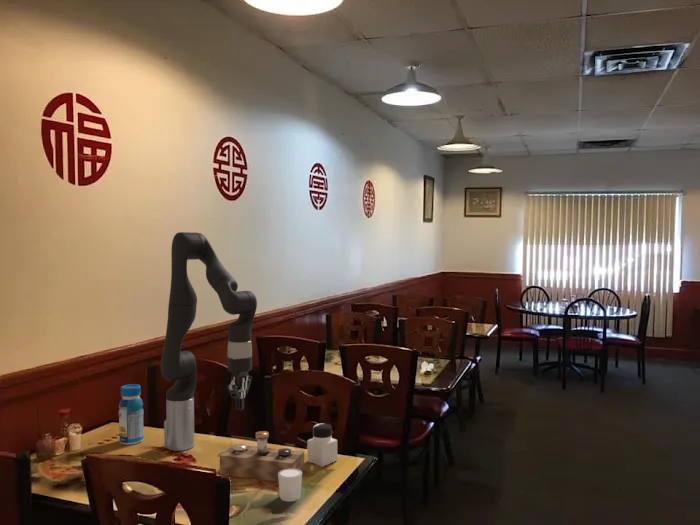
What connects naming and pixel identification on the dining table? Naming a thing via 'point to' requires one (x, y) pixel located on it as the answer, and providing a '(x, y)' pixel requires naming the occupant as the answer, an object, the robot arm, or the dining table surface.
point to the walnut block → (259, 463)
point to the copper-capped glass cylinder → (262, 443)
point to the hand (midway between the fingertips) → (239, 409)
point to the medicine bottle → (322, 446)
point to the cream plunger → (240, 448)
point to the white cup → (290, 484)
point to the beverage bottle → (131, 415)
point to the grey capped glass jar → (284, 453)
